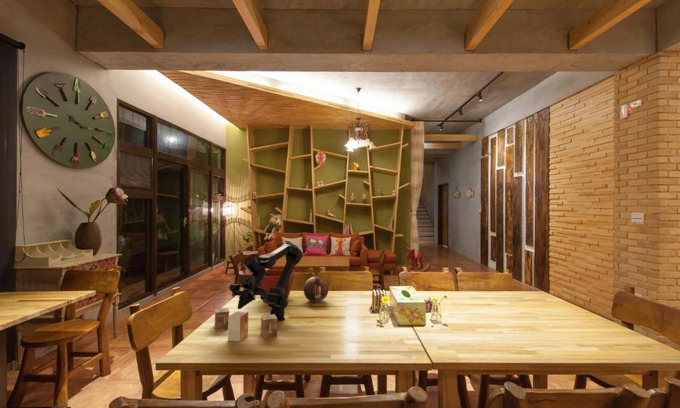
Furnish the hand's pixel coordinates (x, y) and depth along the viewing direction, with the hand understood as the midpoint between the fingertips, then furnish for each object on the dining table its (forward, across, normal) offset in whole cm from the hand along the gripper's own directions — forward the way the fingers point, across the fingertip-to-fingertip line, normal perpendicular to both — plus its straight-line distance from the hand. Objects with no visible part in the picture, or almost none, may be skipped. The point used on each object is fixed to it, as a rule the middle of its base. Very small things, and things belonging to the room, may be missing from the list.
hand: (238, 308), depth 144 cm
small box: (+9, 0, +9) cm, 13 cm away
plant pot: (-30, -21, +48) cm, 60 cm away
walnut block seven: (+4, -16, +14) cm, 21 cm away
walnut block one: (+2, +9, +16) cm, 18 cm away
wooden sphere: (-37, +2, +55) cm, 66 cm away
